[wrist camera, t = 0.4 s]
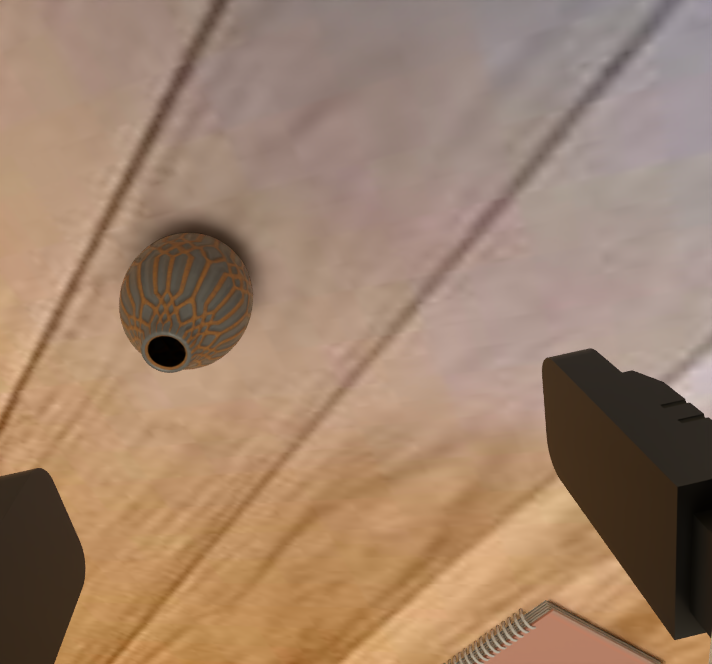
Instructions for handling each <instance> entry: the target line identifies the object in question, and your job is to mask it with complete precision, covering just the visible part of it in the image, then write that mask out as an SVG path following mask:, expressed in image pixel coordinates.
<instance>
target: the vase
mask: <svg viewBox="0 0 712 664" xmlns="http://www.w3.org/2000/svg"><path fill="white" fill-rule="evenodd" d="M252 302H253V291H252V285H251V280H250V277H249V274H248V272H247V270H246V268H245V266H244V264H243V262H242V261H241V259H240V258H239V257H238V255H237V254H236V253H235V252H234V251H233V250H232V249H231V248H230V247H228V246H227V245H226V244H224V243H223V242H221V241H219V240H217V239H215V238H213V237H210V236H207V235H203V234H198V233H179V234H174V235H171V236H168V237H165V238H162V239H160V240H158V241H156V242H154V243H153V244H151V245H150V246H148V247H147V248H146V249H145V250H144V251H142V252H141V254H140V255H139V256H138V257H137V258H136V259H135V260H134V262H133V263H132V265H131V266H130V268H129V269H128V271H127V273H126V275H125V277H124V280H123V283H122V287H121V291H120V299H119V310H120V318H121V322H122V325H123V329H124V331H125V333H126V335H127V337H128V339H129V340H130V342H131V343H132V345H133V346H134V347H135V348H136V349H137V350H138V351H139V352H140V353H141V354H142V356H143V358H144V360H145V361H146V362H147V363H148V364H149V365H150V366H151V367H152V368H154V369H156V370H158V371H161V372H167V373H173V372H178V371H181V370H186V369H196V368H200V367H204V366H207V365H209V364H212V363H214V362H215V361H217V360H219V359H220V358H222V357H223V356H224V355H226V354H227V353H228V352H229V351H230V350H231V349H232V348H233V347H234V346H235V345H236V344H237V342H238V341H239V340H240V338H241V337H242V335H243V333H244V332H245V330H246V328H247V325H248V322H249V319H250V316H251V311H252Z"/></svg>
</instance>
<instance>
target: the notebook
mask: <svg viewBox="0 0 712 664" xmlns="http://www.w3.org/2000/svg"><path fill="white" fill-rule="evenodd" d="M519 612H520V617H521V618H520V619H518V620H517V618H516V613H514V615H513V617H514V621H515V622H514V623H513V624H511V622H510V617H509V618H508V625H509V626H508V627H507V628H505V625H504V622H505V621H503V622H502V628H503V631H501V632H499V625H497V626H496V631H497V635H496V636H494V634H493V629H492V630H491V637H492V638H491V639H490V640H488V633H486V634H485V640H486V643H484V644H483V642H482V637H481V638H480V645H481V646H480V647H478V648H477V641H475V643H474V646H475V650H474V651H473V652H472V649H471V646H472V645H469V652H470V654H468V655H467V654H466V648H465V649H464V658H463V659H461V652H459V657H458V658H459V661H458V662H457V663H456V656H454V657H453V663H454V664H661V663H660V661H659V660H657V659H655V658H653V657H651V656H649V655H647V654H645V653H644V652H642V651H640V650H638V649H636V648H634V647H632V646H630V645H629V644H627V643H625V642H623V641H621V640H619V639H617V638H615V637H614V636H612V635H610V634H608V633H606V632H604V631H602V630H600V629H599V628H597V627H595V626H593V625H591V624H589V623H587V622H585V621H584V620H582V619H580V618H578V617H576V616H574V615H572V614H570V613H568V612H567V611H565V610H563V609H561V608H559V607H557V606H555V605H553V604H552V603H550V602H548V601H546V600H545V601H544V602H543V603H541V604H540V605H538V606H537V607H535V608H534V609H533V610H531V611H530V612H528V613H527V614H525V615H524V616H523V614H522V609H520V610H519ZM450 662H451V659H450V660H449V661H448V664H450ZM444 664H446V663H444Z"/></svg>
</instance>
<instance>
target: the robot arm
mask: <svg viewBox="0 0 712 664" xmlns="http://www.w3.org/2000/svg"><path fill="white" fill-rule="evenodd" d="M542 379H543V393H544V406H545V419H546V433H547V444H548V449H549V454H550V457H551V460H552V463H553V466H554V469H555V471H556V473H557V475H558V477H559V478H560V480H561V481H562V483H563V484H564V486H565V487H566V488H567V490H568V491H569V493H570V494H571V495H572V497H573V498H574V500H575V501H576V502H577V504H578V505H579V507H580V508H581V510H582V511H583V512H584V514H585V515H586V517H587V518H588V519H589V521H590V522H591V524H592V525H593V526H594V528H595V529H596V531H597V532H598V533H599V535H600V536H601V538H602V539H603V540H604V542H605V543H606V545H607V546H608V547H609V549H610V550H611V552H612V553H613V554H614V556H615V557H616V559H617V560H618V561H619V563H620V564H621V566H622V567H623V568H624V570H625V571H626V573H627V574H628V575H629V577H630V578H631V580H632V581H633V582H634V584H635V585H636V587H637V588H638V590H639V591H640V592H641V594H642V595H643V597H644V598H645V599H646V601H647V602H648V604H649V605H650V606H651V608H652V609H653V611H654V612H655V613H656V615H657V616H658V618H659V619H660V620H661V622H662V623H663V625H664V626H665V627H666V629H667V630H668V632H669V633H670V634H671V636H672V637H673V639H674V640H677V639H681V638H685V637H690V636H694V635H698V634H702V633H706V632H707V634H708V635H709V636H710V638H711V646H710V657H709V664H712V420H711V419H710V418H709V417H708V418H705V417H704V413H702V412H701V411H700V410H698V409H697V408H696V407H695V406H693V405H692V404H691V403H686V401H685V399H684V398H683V397H682V396H681V395H679V394H678V393H677V392H675V391H674V390H673V389H672V388H670V387H669V386H668V385H667V384H665V383H664V382H662V381H659V380H656V379H654V378H651V377H648V376H646V375H643V374H640V373H638V372H635V371H627V372H623V373H622V372H621V371H619V370H618V369H617V368H616V367H615V366H614V365H612V364H611V363H610V362H609V361H608V360H606V359H605V358H604V357H603V356H602V355H601V354H599V353H598V352H597V351H596V350H594V349H585V350H581V351H576V352H572V353H567V354H562V355H558V356H553V357H549V358H546V359H545V360H544V362H543V366H542ZM84 579H85V558H84V553H83V549H82V546H81V543H80V541H79V538H78V536H77V534H76V532H75V529H74V527H73V525H72V522H71V520H70V518H69V516H68V513H67V511H66V509H65V507H64V504H63V502H62V500H61V497H60V495H59V493H58V491H57V488H56V486H55V484H54V482H53V480H52V478H51V476H50V475H49V473H48V472H47V471H45V470H44V469H42V468H36V469H32V470H27V471H23V472H18V473H14V474H9V475H5V476H0V664H54V662H55V660H56V657H57V654H58V652H59V649H60V646H61V644H62V641H63V638H64V636H65V633H66V630H67V628H68V625H69V622H70V620H71V617H72V614H73V612H74V609H75V606H76V604H77V601H78V598H79V596H80V593H81V590H82V588H83V584H84Z"/></svg>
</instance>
